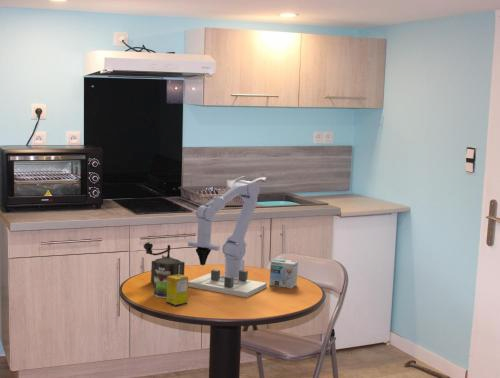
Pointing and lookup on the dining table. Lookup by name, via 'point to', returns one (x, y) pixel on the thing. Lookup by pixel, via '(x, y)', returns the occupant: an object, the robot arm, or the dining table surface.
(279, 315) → the dining table surface
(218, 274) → the dark gray block
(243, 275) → the handle
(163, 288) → the coffee can
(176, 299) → the supplement box
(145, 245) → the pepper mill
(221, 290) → the breaker board
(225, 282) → the handle
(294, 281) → the light bulb box
